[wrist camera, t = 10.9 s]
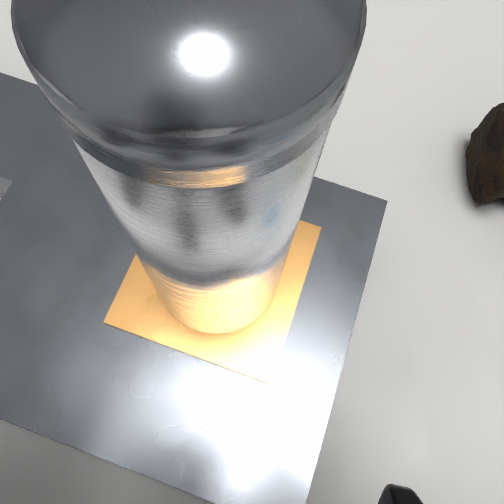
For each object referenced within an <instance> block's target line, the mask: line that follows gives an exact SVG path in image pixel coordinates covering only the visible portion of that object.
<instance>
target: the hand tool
mask: <svg viewBox="0 0 504 504" xmlns="http://www.w3.org/2000/svg"><path fill="white" fill-rule="evenodd" d="M466 158H467V178H468V183H469V187H470V191H471V193H472V196H473V199H474V200H475V201H476V202H477V203H478V204H480V205H484V204H488V203H491V202H493V201H495V200H496V199H497V198H502V199H504V103H501V104H499V105H497V106H496V107H494V108H492V109H491V110H490V112H489V113H488V114H487V115H486V116H485V118H484V119H483V121H482V122H481V123H480V125H479V126H478V127H477V128H476V129H475V130H474V131H473V132H472V133H471V140H470V144H469V146H468V148H467V151H466Z"/></svg>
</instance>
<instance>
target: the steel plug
mask: <svg viewBox="0 0 504 504" xmlns="http://www.w3.org/2000/svg"><path fill="white" fill-rule="evenodd" d="M366 14H367V6H366V0H12V3H11V19H12V29H13V33H14V36H15V39H16V43H17V46H18V49H19V51H20V53H21V55H22V57H23V59H24V61H25V63H26V65H27V66H28V68H29V70H30V72H31V73H32V75H33V77H34V79H35V80H36V82H37V84H38V86H39V87H40V89H41V91H42V93H43V94H44V96H45V98H46V100H47V101H48V103H49V105H50V107H51V109H52V110H53V112H54V114H55V116H56V117H57V119H58V121H59V122H60V124H61V125H62V126H63V128H64V129H65V131H66V132H67V133H68V135H69V136H70V137H71V138H72V139H73V141H74V143H75V145H76V146H77V148H78V150H79V152H80V154H81V155H82V157H83V159H84V161H85V163H86V164H87V166H88V168H89V170H90V172H91V173H92V175H93V177H94V179H95V181H96V182H97V184H98V186H99V188H100V190H101V191H102V193H103V195H104V197H105V199H106V200H107V202H108V204H109V206H110V208H111V209H112V211H113V213H114V215H115V217H116V218H117V220H118V222H119V224H120V226H121V227H122V229H123V231H124V233H125V235H126V236H127V238H128V240H129V242H130V244H131V245H132V247H133V249H134V251H135V253H136V254H137V256H138V258H139V260H140V262H141V263H142V265H143V267H144V269H145V271H146V272H147V274H148V276H149V278H150V280H151V281H152V283H153V285H154V287H155V289H156V290H157V292H158V294H159V296H160V298H161V299H162V301H163V303H164V305H165V306H166V308H167V309H168V311H169V312H170V313H171V314H172V315H173V316H174V317H175V318H176V319H177V320H179V321H180V322H181V323H183V324H184V325H186V326H188V327H190V328H192V329H194V330H197V331H201V332H206V333H228V332H232V331H236V330H239V329H241V328H244V327H245V326H247V325H249V324H251V323H252V322H254V321H255V320H256V319H258V318H259V317H260V316H261V315H262V314H263V313H264V311H265V310H266V309H267V307H268V306H269V304H270V303H271V301H272V299H273V296H274V294H275V291H276V288H277V285H278V282H279V279H280V276H281V273H282V270H283V267H284V264H285V261H286V258H287V255H288V252H289V249H290V246H291V243H292V240H293V237H294V234H295V231H296V228H297V225H298V222H299V219H300V216H301V213H302V210H303V207H304V204H305V201H306V198H307V195H308V192H309V189H310V186H311V183H312V180H313V177H314V174H315V171H316V168H317V165H318V162H319V159H320V156H321V153H322V150H323V147H324V144H325V141H326V138H327V135H328V132H329V129H330V126H331V123H332V120H333V119H334V117H335V115H336V113H337V111H338V109H339V106H340V104H341V102H342V99H343V96H344V93H345V90H346V87H347V84H348V81H349V79H350V76H351V73H352V70H353V67H354V64H355V61H356V58H357V55H358V52H359V49H360V46H361V43H362V40H363V35H364V31H365V27H366Z"/></svg>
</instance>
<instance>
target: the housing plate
mask: <svg viewBox="0 0 504 504" xmlns="http://www.w3.org/2000/svg"><path fill="white" fill-rule="evenodd" d="M0 197H1V198H2V199H1V201H0V419H2V420H4V421H7V422H9V423H12V424H15V425H17V426H20V427H22V428H25V429H27V430H30V431H32V432H35V433H37V434H40V435H43V436H45V437H48V438H50V439H53V440H55V441H58V442H60V443H63V444H66V445H68V446H71V447H73V448H76V449H78V450H81V451H83V452H86V453H88V454H91V455H94V456H96V457H99V458H101V459H104V460H106V461H109V462H111V463H114V464H116V465H119V466H122V467H124V468H127V469H129V470H132V471H134V472H137V473H139V474H142V475H145V476H147V477H150V478H152V479H155V480H157V481H160V482H162V483H165V484H167V485H170V486H173V487H175V488H178V489H180V490H183V491H185V492H188V493H190V494H193V495H195V496H198V497H201V498H203V499H206V500H208V501H211V502H213V503H216V504H306V501H307V497H308V493H309V489H310V486H311V482H312V478H313V475H314V471H315V467H316V464H317V460H318V456H319V452H320V449H321V445H322V441H323V438H324V434H325V430H326V427H327V423H328V419H329V415H330V412H331V408H332V404H333V401H334V397H335V393H336V390H337V386H338V382H339V378H340V375H341V371H342V367H343V364H344V360H345V356H346V353H347V349H348V345H349V341H350V338H351V334H352V330H353V327H354V323H355V319H356V316H357V312H358V308H359V304H360V301H361V297H362V293H363V290H364V286H365V282H366V279H367V275H368V271H369V267H370V264H371V260H372V256H373V253H374V249H375V245H376V242H377V238H378V234H379V230H380V227H381V223H382V219H383V216H384V212H385V208H386V205H387V201H386V200H383V199H380V198H377V197H374V196H371V195H368V194H365V193H362V192H359V191H356V190H353V189H350V188H347V187H344V186H341V185H338V184H335V183H332V182H329V181H326V180H323V179H320V178H317V177H313V180H312V183H311V186H310V189H309V192H308V195H307V198H306V201H305V204H304V207H303V210H302V213H301V216H300V219H299V222H298V225H297V228H296V231H295V234H294V237H293V240H292V243H291V246H290V249H289V252H288V255H287V258H286V261H285V264H284V267H283V270H282V273H281V276H280V279H279V282H278V285H277V288H276V291H275V294H274V296H273V299H272V301H271V303H270V304H269V306H268V307H267V309H266V310H265V311H264V313H263V314H262V315H261V316H260V317H259V318H258V319H256V320H255V321H254V322H252V323H251V324H249V325H247V326H245V327H244V328H241V329H239V330H236V331H232V332H228V333H206V332H201V331H197V330H194V329H192V328H190V327H188V326H186V325H184V324H183V323H181V322H180V321H179V320H177V319H176V318H175V317H174V316H173V315H172V314H171V313H170V312H169V311H168V309H167V308H166V306H165V305H164V303H163V301H162V299H161V298H160V296H159V294H158V292H157V290H156V289H155V287H154V285H153V283H152V281H151V280H150V278H149V276H148V274H147V272H146V271H145V269H144V267H143V265H142V263H141V262H140V260H139V258H138V256H137V254H136V253H135V251H134V249H133V247H132V245H131V244H130V242H129V240H128V238H127V236H126V235H125V233H124V231H123V229H122V227H121V226H120V224H119V222H118V220H117V218H116V217H115V215H114V213H113V211H112V209H111V208H110V206H109V204H108V202H107V200H106V199H105V197H104V195H103V193H102V191H101V190H100V188H99V186H98V184H97V182H96V181H95V179H94V177H93V175H92V173H91V172H90V170H89V168H88V166H87V164H86V163H85V161H84V159H83V157H82V155H81V154H80V152H79V150H78V148H77V146H76V145H75V143H74V141H73V139H72V138H71V137H70V136H69V135H68V133H67V132H66V131H65V129H64V128H63V126H62V125H61V124H60V122H59V121H58V119H57V117H56V116H55V114H54V112H53V110H52V109H51V107H50V105H49V103H48V101H47V100H46V98H45V96H44V94H43V93H42V91H41V89H40V87H39V86H38V85H36V84H33V83H30V82H27V81H24V80H21V79H18V78H15V77H12V76H9V75H6V74H3V73H0Z"/></svg>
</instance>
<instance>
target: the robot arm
mask: <svg viewBox="0 0 504 504" xmlns="http://www.w3.org/2000/svg"><path fill="white" fill-rule="evenodd" d="M378 504H423V503H422V501H421V500H420V499H419V497H418V496H417V494H416V493H415V492H414V491H413V490H412V489H410V488H408V487H403V486H399V485H394V484H388V485H387V486H385V488H384V490H383V492H382V495H381V497H380V499H379V502H378Z"/></svg>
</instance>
